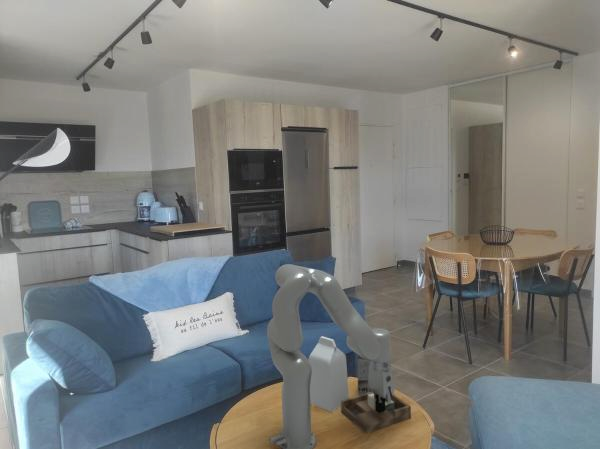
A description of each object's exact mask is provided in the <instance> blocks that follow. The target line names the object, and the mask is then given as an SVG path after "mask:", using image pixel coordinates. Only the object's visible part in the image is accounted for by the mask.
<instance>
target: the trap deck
mask: <svg viewBox="0 0 600 449" xmlns="http://www.w3.org/2000/svg"><path fill="white" fill-rule="evenodd" d="M372 393H373V392H368V393H365V394H362V395H359V396H358V395H356V396H352V397H349V399H346V400H343V401H341V406H340V410H341V411H340V412H341V413H342V415H344V416H345V417H346V418H347V419H349V421H350V422H352V423H353V424H354V425H356V426H357V428H358V429H360V430H361V431H362V432H364V433H365V434H370V433H373V432H375V431H378V430H381V429H383V428H386V427H389V426H391V425H395V424H397V423H401V422H403V421H406V420H409V419H411V418H412V416H411V414H412V413H411V412H412V406H411V405H409V404H408V403H406V401H404V400H403V399H400V398H399V397H397V395H395V394H394V395H393V396H392V395H390V398H391V401H389V402H386V401H385V411H383V412H380V413H378V412H377V411H376V410H373V409H372V408H371V407H370V406H369V405H368V394H372Z"/></svg>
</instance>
